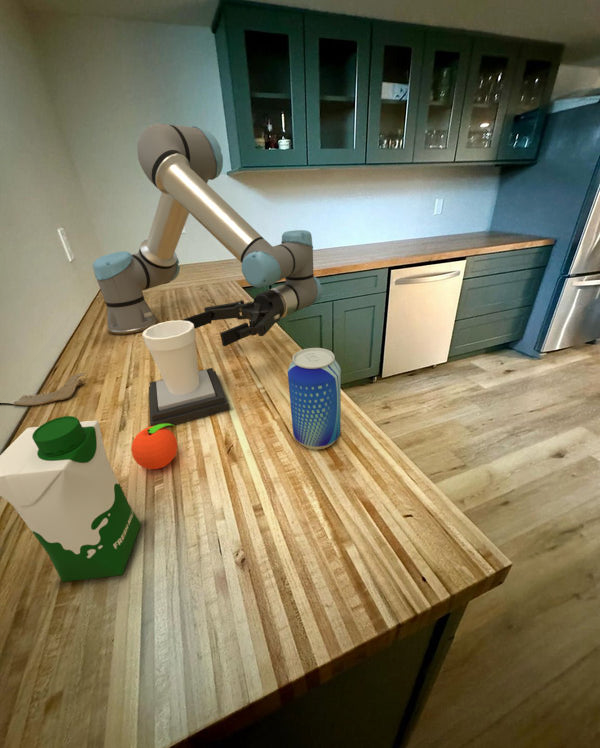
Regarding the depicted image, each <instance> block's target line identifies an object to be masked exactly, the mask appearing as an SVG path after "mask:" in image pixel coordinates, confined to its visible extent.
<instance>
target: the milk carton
mask: <svg viewBox="0 0 600 748" xmlns="http://www.w3.org/2000/svg"><path fill="white" fill-rule="evenodd" d="M0 497H1V498H2V499H3V500H5V501H6V502H7V503H9V504H10V505H11V506H12V507H13V508H14V509H15V511H16V512H17V514H18V515H19V516H20V517H21V519H22V520H23V521H24V523H25V524H26V526H27V527H28V529H29V530H30V531H31V533H32V534H33V535H34V537H35V538H36V539H37V541H38V542H39V543H40V545H41V546H42V548H43V549H44V550H45V552H46V553H47V555H48V556H49V558H50V561H51V563H52V565H53V567H54V569H55V570H56V573H57V574H58V576H59V578H60V580H61V582H62V583H67V582H74V581H75V582H76V581H83V580H93V579H100V578H107V577H108V578H109V577H110V578H111V577H117V576H123V575H124V572H125V570H126V567H127V564H128V561H129V558H130V557H131V556H130V555H131V553H132V550H133V547H134V545H135V542H136V539H137V537H138V535H139V534H138V533H139V531H140V529H141V526H142V524H141V521H140V520H139V518H138V517H137V514H136V513H135V512H134V510H133V508H132V507H131V505H130V503H129V501H128V499H127V497H126V494H125V493H124V490H123V488H122V486H121V484H120V481H119V480H118V478H117V475H116V474H115V471H114V469H113V467H112V465H111V462H110V460H109V458H108V455H107V451H106V447H105V444H104V439H103V435H102V430H101V425H100V421H99V420H87V421H86V420H85V421H80V420H79V418H77V417H76V416H72V415H65V416H60V417H56V418H53V419H51V420H48V421H46V422H44V423H42V424H41V425H39V426H30V427H27V428H25V429H24V430H23V431H22V433H20V434H19V436H17V438H15V440H14V441H13V442H12V443H11V444H10V445H9V446H8V447H7V448H6V449H5V450H4V451H3V452H2V453H1V454H0Z"/></svg>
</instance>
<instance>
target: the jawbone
mask: <svg viewBox="0 0 600 748" xmlns="http://www.w3.org/2000/svg"><path fill="white" fill-rule="evenodd" d="M85 374H86V372H79V373H76V374H74V375H72V376H70V378H68V379H67V381H66V382H65V383H64V384H63V386H61V387H60V388H58V389H56V390H55V391H53V392H52V391H51V392H50V391H48V392H45V393H44V392H43V393H38V394H31V395H30V394H28V395H27V394H23V396H22V395H21V396H22V397H21V398H20V399H19V401H15V402H14V404H13V405H12V406H14V405H15V406H24V407H29V406H30V407H34V406H41V405H46V404H49V403H52V402H53V403H54V402H57V401H65V400H68V399H70V398H71V397H72V396H73V395H74V394H75V391H76V389H77V387H79V386H83V383H84V381H83V379H82V378H80V377H83V376H85Z"/></svg>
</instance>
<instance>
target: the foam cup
mask: <svg viewBox="0 0 600 748" xmlns="http://www.w3.org/2000/svg"><path fill="white" fill-rule="evenodd" d="M142 339H143V342H144V344H145V347H146V348H147V349H148V352H149V353H150V355H151V357H152V359H153V362H154V364H155V365H156V368H157V370H158V372H159V374H160V376H161V378H162V379H163V380H164V382H165V384H166V386H167V388H168V390H169V392H170V393H171V394H175V395H182V394H187V393H190V392H192V391H194V390H196V389H197V388H198V386H199V373H198V371H199V364H198V352H197V341H196V340H197V333H196V329H195V328H194V324H193V323H191V322H190V321H183V320H182V319H179V320H169V321H164V322H163V321H162V322H159V323H156V324H155V325H153V326H151V327H149V328H148V329H146V330H144V331H142Z"/></svg>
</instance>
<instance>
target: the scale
mask: <svg viewBox="0 0 600 748" xmlns="http://www.w3.org/2000/svg"><path fill="white" fill-rule="evenodd" d="M202 370H203V369H201V370H200V371H202ZM204 370H207V372H208V375H209V378H210V380H211V383H212V386H213V389H214V391H215V395H216V396H214V397H210V398H207V399H203V400H199V401H195V402H191V403H187V404H184V405H180V406H176V407H172V408H168V409H164V410H161V411H159V409H158V400H157V387H156V381H159V380H160V379H158V380H154V381H150V382H149V386H148V400H149V425H150V427H151V426H155V425H158V424H165V423H167V424H172V425H168V426H165V427H164V428H168V427H174V426H173V425H175V426H176V425H180V424H183V423H187V422H191V421H193V420H197V419H201V418H205V417H208V416H212V415H215V414H216V415H217V414H219V413H224V412H226V411H230V404H229V401H228V398H227V397H226V394H225V391H224V389H223V386H222V383H221V382H220V379H219V377H218V374H217V372H216V370H214V369H213V367H210V368H205V369H204ZM161 380H163V378H162V379H161Z"/></svg>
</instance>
